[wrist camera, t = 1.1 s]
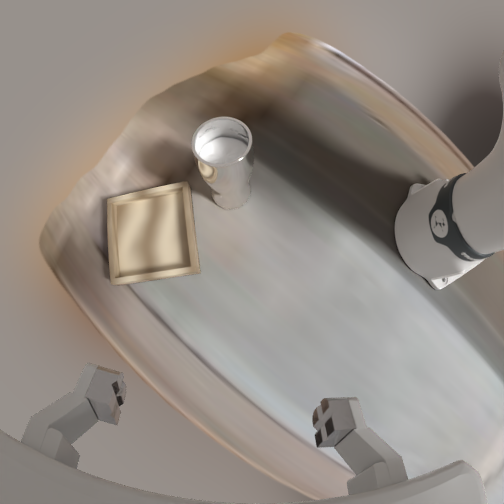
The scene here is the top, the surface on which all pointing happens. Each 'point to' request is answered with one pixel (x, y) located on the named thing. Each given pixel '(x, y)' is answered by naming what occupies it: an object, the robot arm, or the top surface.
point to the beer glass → (225, 159)
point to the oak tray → (152, 235)
